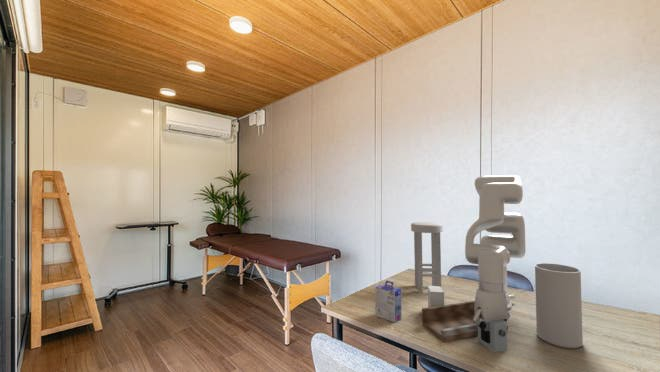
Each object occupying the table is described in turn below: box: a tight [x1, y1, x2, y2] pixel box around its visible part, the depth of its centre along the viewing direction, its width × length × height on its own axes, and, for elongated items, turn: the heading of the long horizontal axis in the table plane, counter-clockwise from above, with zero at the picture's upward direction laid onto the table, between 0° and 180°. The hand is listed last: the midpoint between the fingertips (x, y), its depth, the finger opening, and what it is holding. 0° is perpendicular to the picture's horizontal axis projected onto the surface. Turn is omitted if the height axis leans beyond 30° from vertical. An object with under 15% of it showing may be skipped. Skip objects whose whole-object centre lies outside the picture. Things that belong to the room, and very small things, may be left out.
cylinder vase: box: [534, 262, 584, 349], centre depth 99 cm, size 12×12×25 cm
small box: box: [427, 285, 445, 308], centre depth 121 cm, size 8×6×10 cm
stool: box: [410, 221, 444, 294], centre depth 152 cm, size 16×16×35 cm
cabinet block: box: [477, 320, 508, 353], centre depth 96 cm, size 5×8×9 cm, turn 17°
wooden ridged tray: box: [421, 300, 509, 343], centre depth 108 cm, size 28×13×6 cm, turn 106°
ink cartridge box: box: [374, 279, 403, 323], centre depth 118 cm, size 10×6×14 cm, turn 47°
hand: (492, 339), depth 96 cm, fingers closed on cabinet block, 5 cm apart
